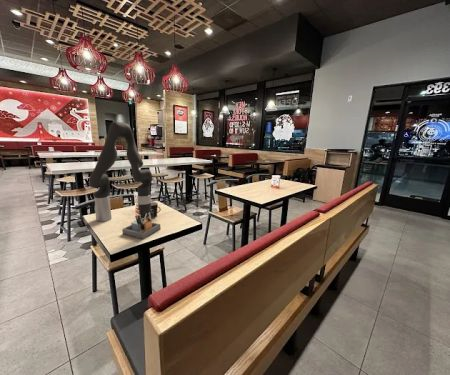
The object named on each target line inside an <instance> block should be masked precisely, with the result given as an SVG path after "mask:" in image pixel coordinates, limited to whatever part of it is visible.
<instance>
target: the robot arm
mask: <svg viewBox="0 0 450 375" xmlns="http://www.w3.org/2000/svg"><path fill="white" fill-rule="evenodd" d="M106 134H107V135H106V139H105V142H104V145H103V147H102V149H101V152H100V154H99V156H98V160H97V162H96V165H95V167H94V168H93V170H92V173H91V174H90V176H89V179H88V184H89V186H90V187H91V188H93V189H98V190H97V191H95V192H94V193H93V198H94V205H95V206H94V213H95V220H96V221H97V222H108V221H111V220H112V217H113V216H112V211H111V209H112V208H111V200H110V190H111V189H110V178H109V176H108V174H106V172H107V171H108V170H109V169H111V167H113V166H114V165H115V162H116V161H117V157H118V151H117V148H116V142H117V140H118V139H124V140H125V141H126V143H127V148H126V158H127V160H128V162H129V164H130V166H131V168H130V169H131V174H132V178H133V180H134V181H135V182H136V183H141V184H140V185H138V186H137V188H136V190H137V191H136V192H137V209H138V211H139V213H138V214H136V215H135V221H137V224H140V227H141V230H144V221H145V220H146V221H151V222H152V220H153V219H155V218H154V210H153V209H151V202H152V200H151V199H152V198H151V188H150V187H151V184H152V178H153V175H152V174H153V173H152V171H151V170H150V169H148V168H144V169H140V168H141V167H143V166H144V162H143V160H142V157H141V155H140V153H139V150H138V147H137V145H136V144H137V143H136V141H135V137H134V134H133V131H132V128H131V126H130V125H129V124H128V123H126V122H119V121H113V122H111V123H110V125H109V128H108V130H107V133H106ZM151 215H152V217H151Z"/></svg>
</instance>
